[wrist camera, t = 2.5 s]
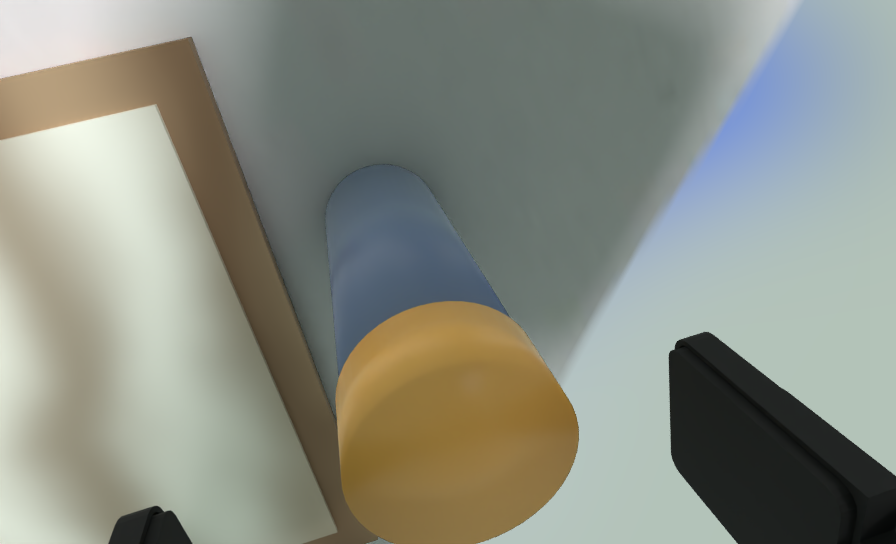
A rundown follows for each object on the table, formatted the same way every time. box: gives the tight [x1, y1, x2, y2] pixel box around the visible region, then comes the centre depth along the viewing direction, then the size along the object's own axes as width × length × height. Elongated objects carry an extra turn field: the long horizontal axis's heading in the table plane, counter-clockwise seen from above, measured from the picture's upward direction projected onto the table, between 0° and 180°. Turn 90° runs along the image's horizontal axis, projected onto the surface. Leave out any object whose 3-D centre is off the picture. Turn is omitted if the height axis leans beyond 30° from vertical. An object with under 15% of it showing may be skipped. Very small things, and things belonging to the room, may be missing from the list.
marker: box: [325, 164, 579, 544], centre depth 15 cm, size 4×4×12 cm
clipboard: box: [0, 37, 378, 544], centre depth 20 cm, size 16×22×2 cm
